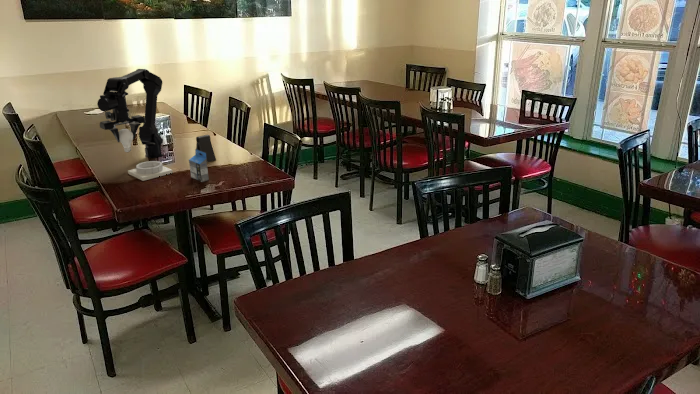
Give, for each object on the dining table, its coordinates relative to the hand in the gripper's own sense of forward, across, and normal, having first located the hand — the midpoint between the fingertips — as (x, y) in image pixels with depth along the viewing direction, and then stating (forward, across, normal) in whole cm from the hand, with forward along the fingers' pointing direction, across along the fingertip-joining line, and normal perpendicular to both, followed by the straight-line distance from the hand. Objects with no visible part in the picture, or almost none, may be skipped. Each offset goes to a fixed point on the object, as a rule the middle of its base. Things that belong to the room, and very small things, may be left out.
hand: (126, 140), depth 234 cm
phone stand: (+13, -30, +16) cm, 36 cm away
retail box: (+13, -13, +38) cm, 42 cm away
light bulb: (+6, 0, 0) cm, 6 cm away
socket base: (+13, -2, +15) cm, 20 cm away
